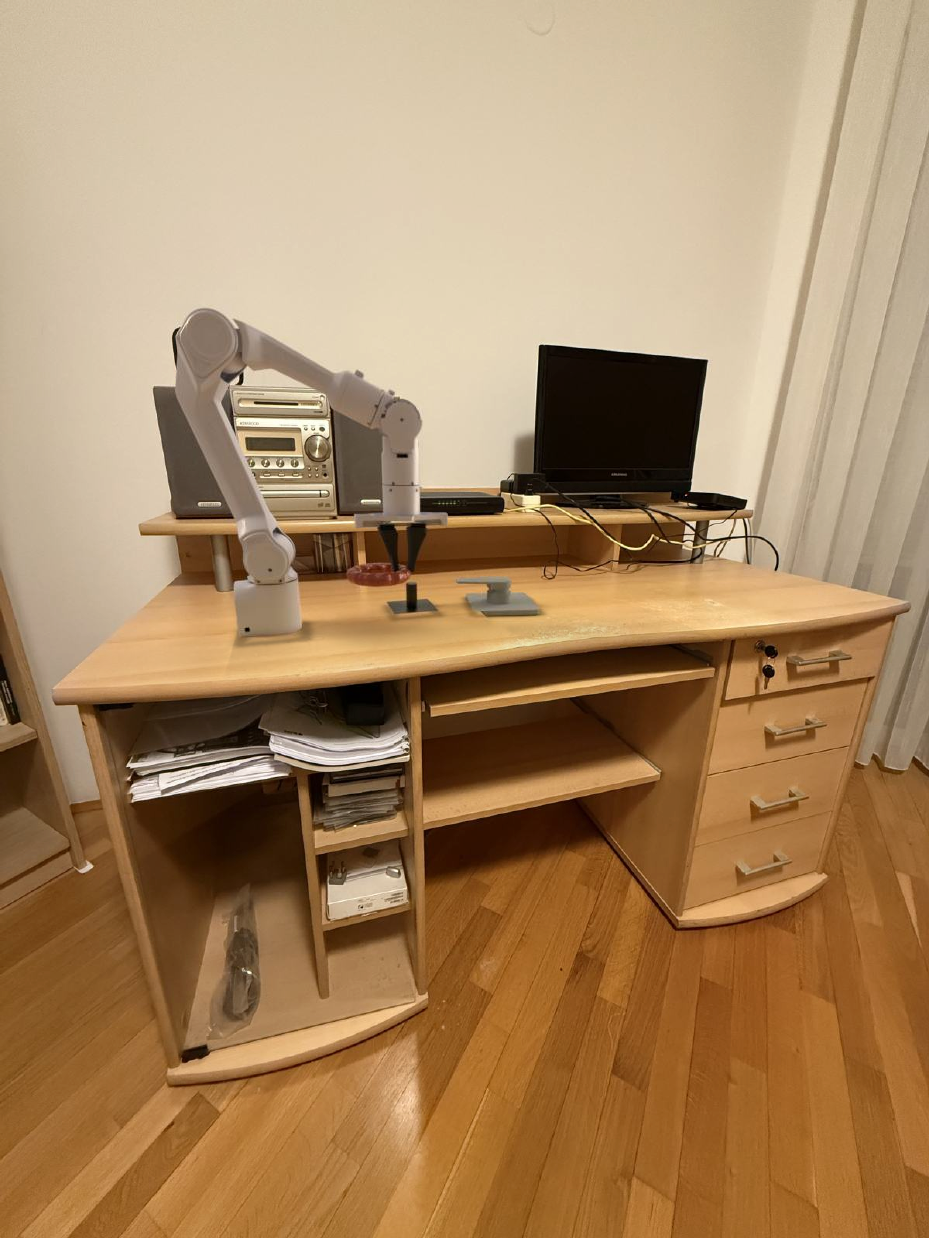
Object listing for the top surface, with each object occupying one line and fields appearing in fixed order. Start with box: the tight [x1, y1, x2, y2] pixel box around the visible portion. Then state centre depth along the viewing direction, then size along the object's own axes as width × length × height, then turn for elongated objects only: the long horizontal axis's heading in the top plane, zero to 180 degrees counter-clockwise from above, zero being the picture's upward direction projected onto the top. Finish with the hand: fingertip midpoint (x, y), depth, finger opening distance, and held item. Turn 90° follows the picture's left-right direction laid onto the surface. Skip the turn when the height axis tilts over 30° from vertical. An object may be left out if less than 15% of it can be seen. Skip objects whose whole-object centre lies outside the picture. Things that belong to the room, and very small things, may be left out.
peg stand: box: [386, 581, 439, 615], centre depth 90 cm, size 8×8×5 cm
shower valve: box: [455, 576, 540, 617], centre depth 94 cm, size 12×6×15 cm
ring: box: [345, 562, 412, 588], centre depth 78 cm, size 10×10×2 cm
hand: (403, 571), depth 80 cm, fingers closed on ring, 2 cm apart
